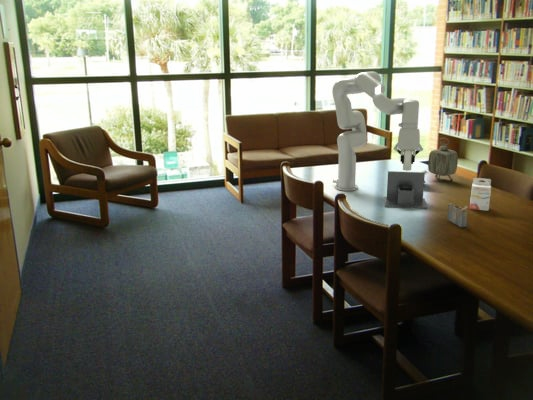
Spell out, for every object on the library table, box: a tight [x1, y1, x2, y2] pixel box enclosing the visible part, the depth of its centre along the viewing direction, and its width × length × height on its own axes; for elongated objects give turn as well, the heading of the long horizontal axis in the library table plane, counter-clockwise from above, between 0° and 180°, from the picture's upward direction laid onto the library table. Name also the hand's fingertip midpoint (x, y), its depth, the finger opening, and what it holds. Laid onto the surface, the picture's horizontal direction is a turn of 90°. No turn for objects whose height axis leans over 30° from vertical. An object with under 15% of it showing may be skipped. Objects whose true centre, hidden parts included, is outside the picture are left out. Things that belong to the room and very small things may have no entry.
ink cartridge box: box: [469, 177, 492, 212], centre depth 258 cm, size 9×5×15 cm, turn 71°
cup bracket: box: [383, 170, 428, 210], centre depth 268 cm, size 15×20×15 cm
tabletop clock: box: [427, 137, 459, 182], centre depth 310 cm, size 14×9×25 cm, turn 34°
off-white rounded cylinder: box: [402, 150, 413, 172], centre depth 262 cm, size 4×4×12 cm
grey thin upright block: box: [446, 203, 470, 228], centre depth 239 cm, size 11×3×10 cm, turn 13°
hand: (407, 163), depth 262 cm, fingers closed on off-white rounded cylinder, 4 cm apart
